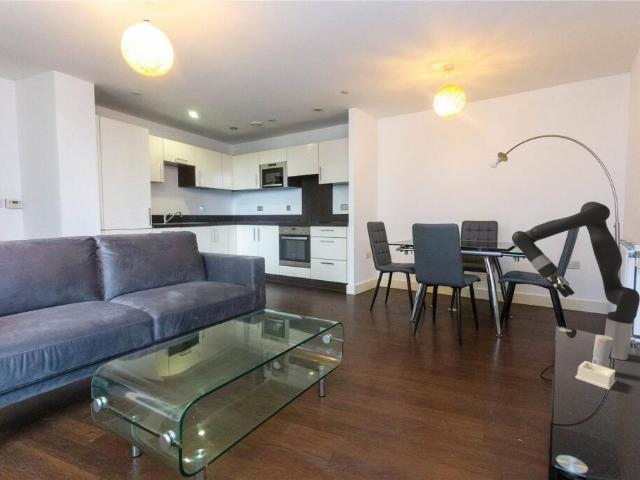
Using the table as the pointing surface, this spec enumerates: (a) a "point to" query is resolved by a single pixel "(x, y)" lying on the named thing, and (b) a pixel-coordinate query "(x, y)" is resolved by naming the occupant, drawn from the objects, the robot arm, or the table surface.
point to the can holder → (596, 375)
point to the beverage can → (602, 350)
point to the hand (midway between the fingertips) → (570, 295)
